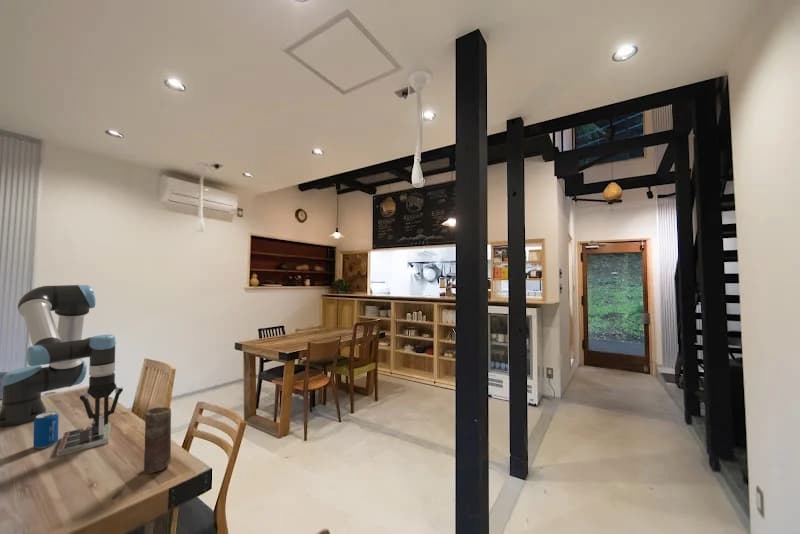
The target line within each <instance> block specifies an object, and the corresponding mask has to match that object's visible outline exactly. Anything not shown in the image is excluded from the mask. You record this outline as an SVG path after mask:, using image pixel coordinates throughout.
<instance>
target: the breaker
mask: <svg viewBox="0 0 800 534" xmlns="http://www.w3.org/2000/svg"><path fill="white" fill-rule="evenodd" d="M91 426H92V434H94V433H99V426H97V427H95V421H94V420H93V421H92V423H91Z"/></svg>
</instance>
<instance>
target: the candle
mask: <svg viewBox="0 0 800 534" xmlns="http://www.w3.org/2000/svg"><path fill="white" fill-rule="evenodd" d="M144 416H145V418H144V419H145V421H144V423H145V424H144V456H143V457H144V458H143V459H144V460H143V468H144V469H143V473H144V474H149V475H150V474H152V473H156V472H159V471H161V470H162V471H163V470H164V469H165V468H166V467H168V465H169V464H170V463H171V461H172V457H171V456H172V449H171V448H172V443H171V442H172V438H171V437H172V432H171V431H172V409H171V407H167V406H166V407H165V406H162V407H158V406H157V407H153V408H150V409H148V410H146V412H145V415H144Z"/></svg>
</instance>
